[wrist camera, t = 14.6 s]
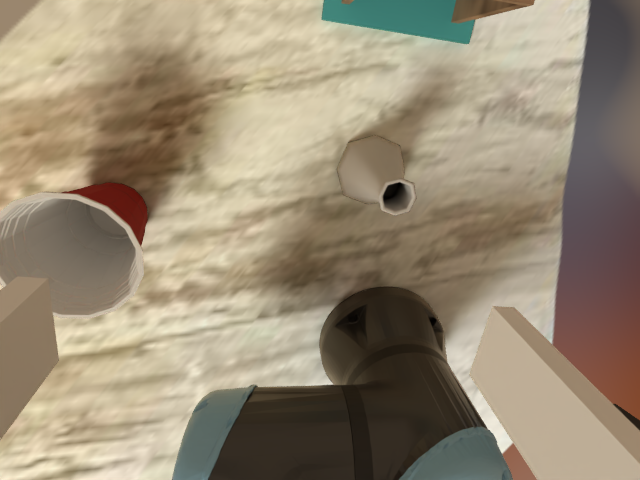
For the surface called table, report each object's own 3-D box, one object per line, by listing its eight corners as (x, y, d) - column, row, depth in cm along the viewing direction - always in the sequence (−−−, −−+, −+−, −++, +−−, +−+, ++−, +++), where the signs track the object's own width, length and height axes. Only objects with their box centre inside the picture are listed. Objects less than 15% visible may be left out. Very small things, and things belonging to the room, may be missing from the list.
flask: (339, 132, 41) (359, 150, 31) (409, 136, 42) (448, 155, 32) (333, 202, 43) (350, 237, 34) (398, 204, 44) (432, 239, 35)
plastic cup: (138, 277, 44) (94, 346, 33) (41, 218, 41) (-44, 273, 30) (197, 204, 42) (170, 252, 31) (99, 134, 38) (30, 160, 27)
